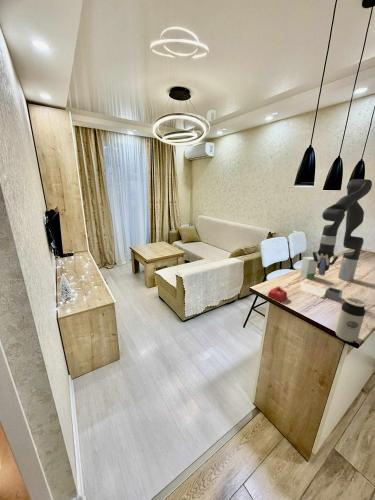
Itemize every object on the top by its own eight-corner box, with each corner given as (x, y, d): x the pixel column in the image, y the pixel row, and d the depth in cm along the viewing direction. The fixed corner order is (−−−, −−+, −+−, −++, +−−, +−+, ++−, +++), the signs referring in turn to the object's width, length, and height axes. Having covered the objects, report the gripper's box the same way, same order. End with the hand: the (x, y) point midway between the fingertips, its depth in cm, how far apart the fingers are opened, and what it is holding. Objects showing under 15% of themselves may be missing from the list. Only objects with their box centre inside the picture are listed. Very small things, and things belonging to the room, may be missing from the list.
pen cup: (328, 293, 134) (329, 286, 133) (340, 298, 129) (342, 290, 128) (324, 297, 130) (325, 290, 128) (337, 301, 125) (339, 294, 123)
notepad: (301, 283, 149) (301, 282, 149) (330, 292, 136) (331, 291, 136) (293, 289, 140) (293, 287, 140) (323, 299, 127) (323, 297, 127)
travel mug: (336, 328, 100) (344, 294, 95) (357, 336, 95) (367, 300, 90) (334, 337, 94) (343, 301, 89) (356, 345, 89) (367, 308, 84)
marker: (319, 272, 133) (322, 253, 129) (325, 274, 130) (329, 255, 126) (316, 274, 130) (320, 255, 127) (323, 276, 127) (327, 256, 124)
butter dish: (281, 306, 118) (283, 293, 116) (263, 299, 127) (264, 286, 124) (290, 300, 126) (292, 287, 123) (272, 293, 134) (274, 281, 132)
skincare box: (305, 279, 156) (309, 259, 151) (299, 276, 162) (302, 257, 158) (314, 278, 158) (318, 258, 154) (307, 275, 164) (311, 256, 160)
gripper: (343, 244, 122) (337, 271, 126) (317, 239, 132) (312, 265, 137) (339, 246, 117) (333, 274, 122) (312, 241, 127) (307, 267, 132)
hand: (322, 269), depth 129 cm, fingers closed on marker, 3 cm apart
